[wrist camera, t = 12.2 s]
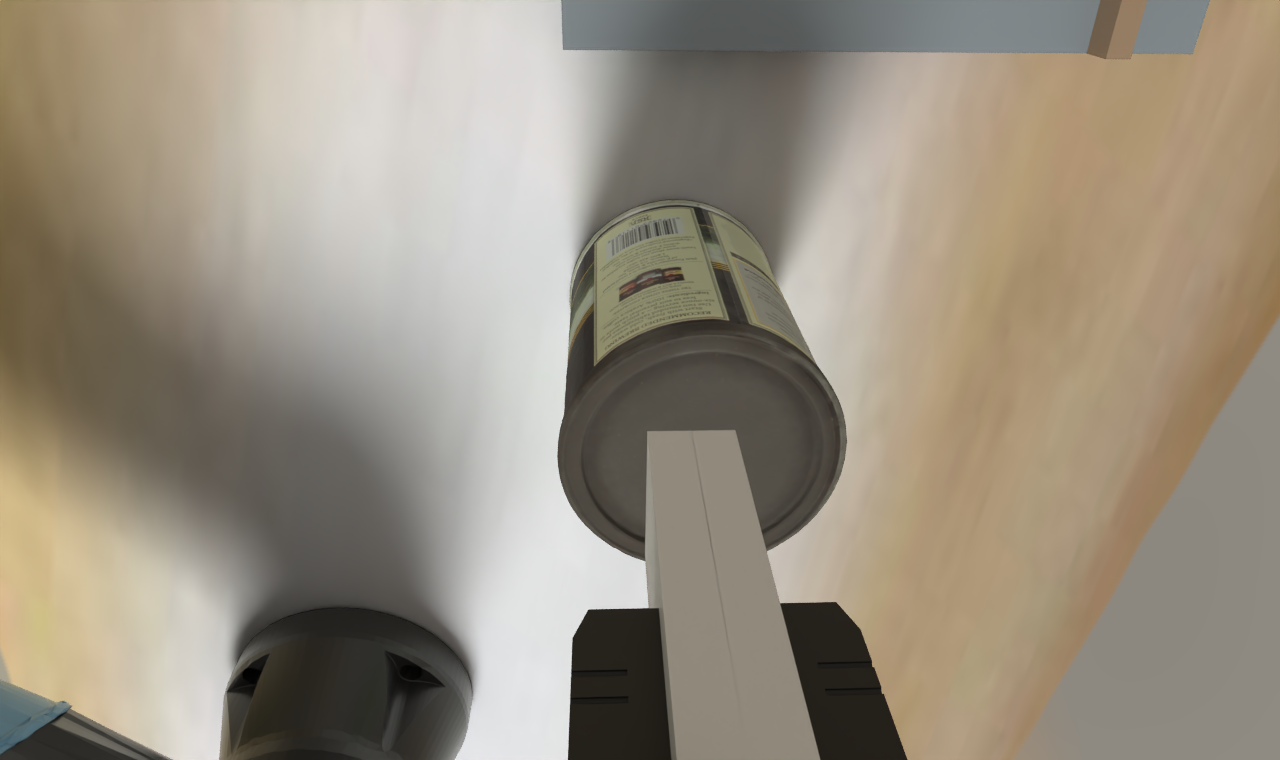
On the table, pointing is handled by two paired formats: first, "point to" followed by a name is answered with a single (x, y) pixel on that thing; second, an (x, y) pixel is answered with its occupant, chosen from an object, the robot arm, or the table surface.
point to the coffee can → (690, 371)
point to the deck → (887, 26)
